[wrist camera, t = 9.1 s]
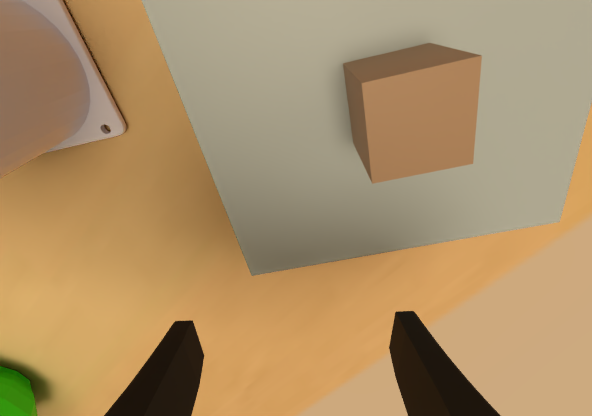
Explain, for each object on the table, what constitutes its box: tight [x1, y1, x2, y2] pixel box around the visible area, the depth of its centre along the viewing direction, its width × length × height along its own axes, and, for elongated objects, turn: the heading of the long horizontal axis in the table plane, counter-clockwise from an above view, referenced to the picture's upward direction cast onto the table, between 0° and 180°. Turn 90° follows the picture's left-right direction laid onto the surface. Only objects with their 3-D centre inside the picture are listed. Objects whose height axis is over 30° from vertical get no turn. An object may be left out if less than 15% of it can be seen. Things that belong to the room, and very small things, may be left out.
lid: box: [142, 0, 592, 276], centre depth 11 cm, size 15×15×4 cm
